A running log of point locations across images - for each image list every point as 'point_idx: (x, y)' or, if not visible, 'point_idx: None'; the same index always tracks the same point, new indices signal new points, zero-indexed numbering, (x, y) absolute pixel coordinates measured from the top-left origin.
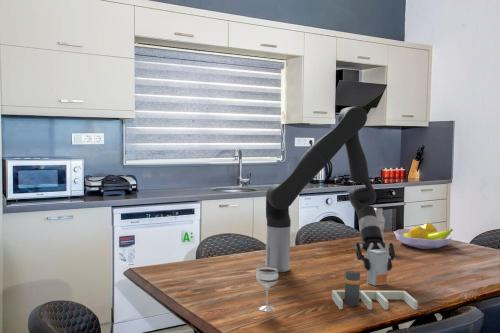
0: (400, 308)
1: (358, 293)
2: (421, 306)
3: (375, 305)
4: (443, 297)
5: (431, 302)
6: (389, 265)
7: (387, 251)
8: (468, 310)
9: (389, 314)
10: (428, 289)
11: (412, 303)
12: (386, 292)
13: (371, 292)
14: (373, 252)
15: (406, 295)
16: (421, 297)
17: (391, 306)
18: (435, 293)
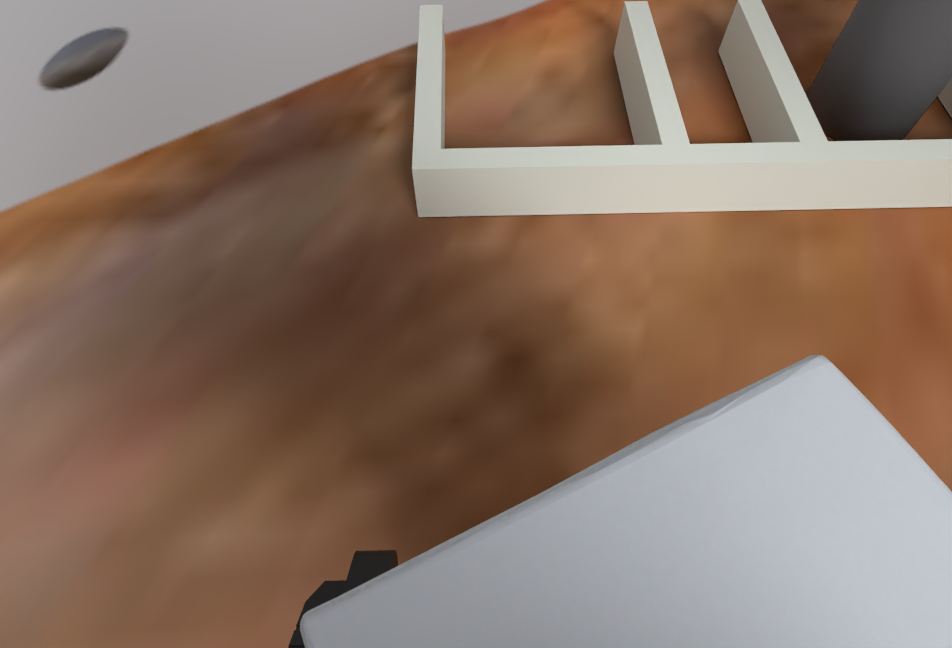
0: (526, 69)
1: (856, 5)
2: (366, 97)
3: (686, 101)
4: (57, 249)
5: (245, 156)
6: (375, 576)
7: (357, 593)
8: (93, 58)
9: (621, 6)
10: (13, 458)
11: (443, 45)
12: (590, 150)
13: (724, 150)
14: (919, 468)
15: (441, 102)
16: (256, 242)
17: (577, 92)
18: (43, 340)
